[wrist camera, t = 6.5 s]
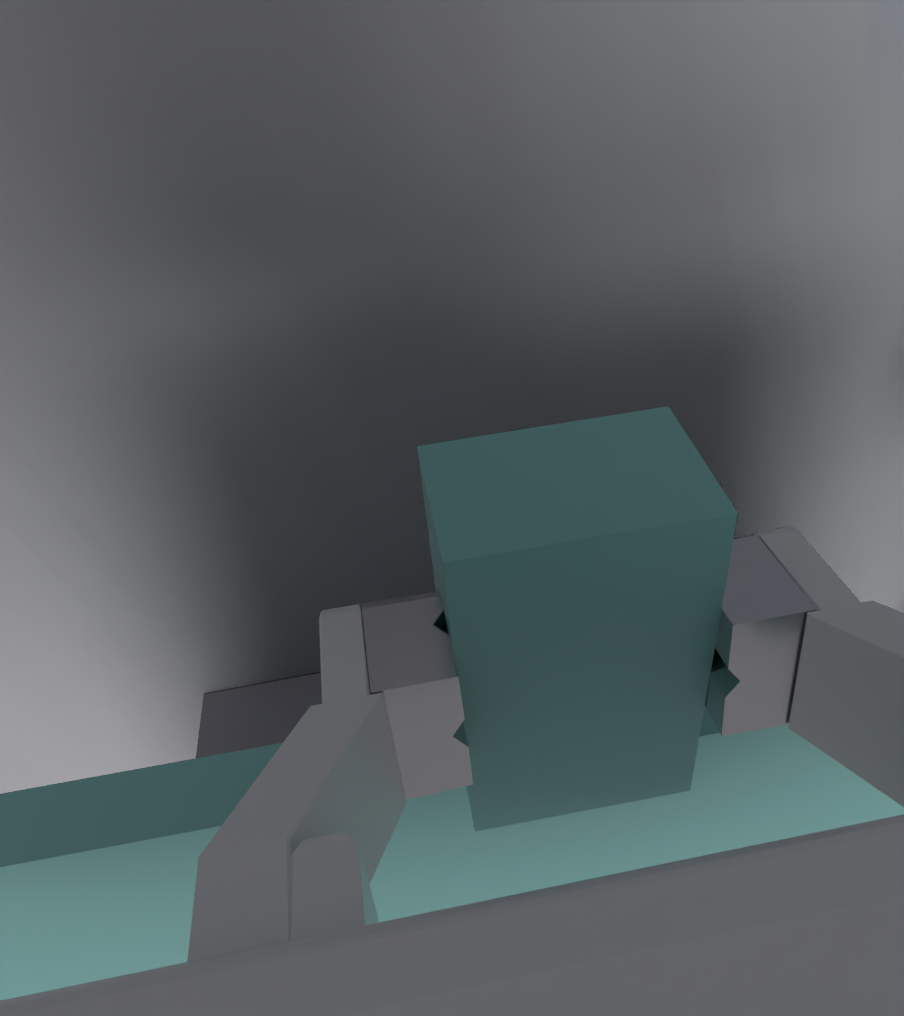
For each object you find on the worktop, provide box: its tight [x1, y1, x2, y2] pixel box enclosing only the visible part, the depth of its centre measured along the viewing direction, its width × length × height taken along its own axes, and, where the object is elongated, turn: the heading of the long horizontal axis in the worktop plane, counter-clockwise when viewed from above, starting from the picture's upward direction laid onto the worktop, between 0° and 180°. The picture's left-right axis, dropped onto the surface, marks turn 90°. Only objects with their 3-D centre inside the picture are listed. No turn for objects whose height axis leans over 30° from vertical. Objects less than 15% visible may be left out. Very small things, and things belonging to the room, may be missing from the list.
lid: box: [0, 406, 904, 1000], centre depth 15 cm, size 19×20×2 cm
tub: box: [196, 673, 322, 758], centre depth 29 cm, size 13×19×12 cm
